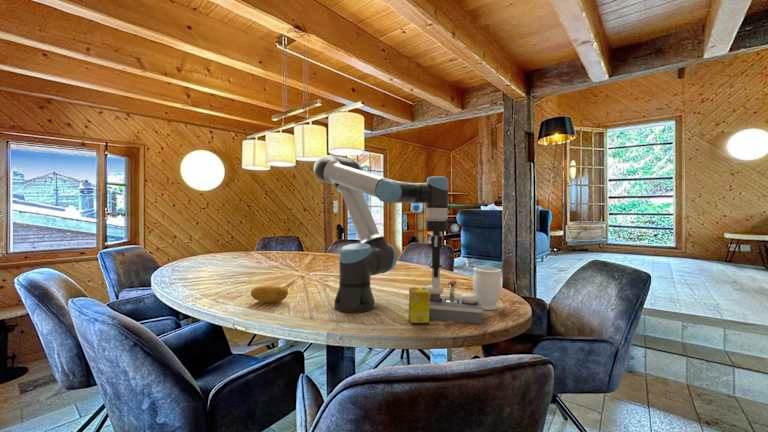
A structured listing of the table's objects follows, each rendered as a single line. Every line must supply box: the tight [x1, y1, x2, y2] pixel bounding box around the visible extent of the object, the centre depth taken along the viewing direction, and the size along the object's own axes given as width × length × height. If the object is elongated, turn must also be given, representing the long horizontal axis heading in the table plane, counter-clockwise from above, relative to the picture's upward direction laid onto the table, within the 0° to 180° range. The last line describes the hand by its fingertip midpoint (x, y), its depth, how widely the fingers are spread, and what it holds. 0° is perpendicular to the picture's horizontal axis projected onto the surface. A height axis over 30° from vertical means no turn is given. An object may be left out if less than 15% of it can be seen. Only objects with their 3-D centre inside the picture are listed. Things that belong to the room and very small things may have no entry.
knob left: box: [426, 284, 444, 302], centre depth 119 cm, size 6×6×7 cm
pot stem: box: [446, 279, 458, 304], centre depth 117 cm, size 4×4×12 cm
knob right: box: [460, 292, 478, 305], centre depth 116 cm, size 6×6×7 cm
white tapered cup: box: [472, 265, 502, 311], centre depth 127 cm, size 11×10×15 cm
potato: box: [250, 285, 289, 304], centre depth 128 cm, size 8×14×7 cm, turn 86°
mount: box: [429, 295, 484, 324], centre depth 117 cm, size 20×12×5 cm, turn 78°
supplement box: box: [408, 286, 430, 326], centre depth 110 cm, size 6×6×11 cm
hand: (435, 285), depth 118 cm, fingers closed
